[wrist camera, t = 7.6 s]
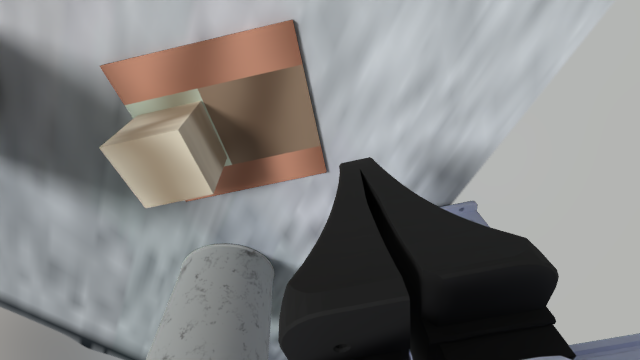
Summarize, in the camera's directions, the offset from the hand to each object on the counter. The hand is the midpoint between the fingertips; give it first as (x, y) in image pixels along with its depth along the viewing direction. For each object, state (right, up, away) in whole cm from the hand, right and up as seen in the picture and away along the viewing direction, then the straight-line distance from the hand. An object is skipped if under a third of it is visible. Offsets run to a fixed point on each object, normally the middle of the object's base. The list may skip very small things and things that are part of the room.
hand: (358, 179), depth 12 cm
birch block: (-11, +3, +8) cm, 14 cm away
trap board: (-8, +4, +8) cm, 12 cm away
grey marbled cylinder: (-11, -10, +18) cm, 23 cm away
